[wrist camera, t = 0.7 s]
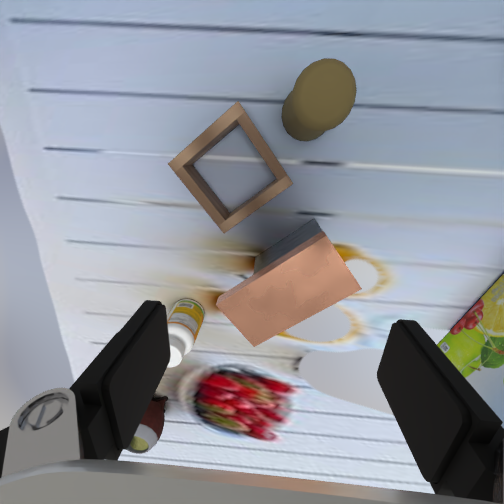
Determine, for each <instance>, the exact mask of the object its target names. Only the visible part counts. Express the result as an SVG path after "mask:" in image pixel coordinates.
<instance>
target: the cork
mask: <svg viewBox="0 0 504 504" xmlns="http://www.w3.org/2000/svg"><path fill="white" fill-rule="evenodd" d="M355 96H356V83H355V78H354V76H353V74H352V72H351V70H350V69H349V68H348V67H347V66H346V65H345V64H344V63H343V62H341V61H339V60H336V59H321V60H319V61H316V62H313V63H312V64H310V65H309V66H308V67H306V68H305V69H304V70H303V71H302V73H301V74H300V76H299V77H298V78H297V80H296V83H295V86H294V89H293V91H291V92H290V94H289V95H288V97H287V98H286V99H285V102H284V105H283V108H282V121H283V126H284V128H285V129H286V131H287V133H288V134H289V135H291V136H292V137H293V138H294V139H297V140H299V141H310V140H314V139H316V138H318V137H319V136H321V135H322V134H323V133H324V132H325V131H327V130H330V129H333V128H335V127H336V126H338V125H339V124H341V123H342V122H343V121H344V120H345V118H346V117H347V116H348V115H349V113H350V111H351V109H352V107H353V104H354V102H355Z"/></svg>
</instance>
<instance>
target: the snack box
mask: <svg viewBox="0 0 504 504" xmlns="http://www.w3.org/2000/svg"><path fill="white" fill-rule="evenodd" d="M437 346H438V347H439V348H440V349H441V351H442V352H443V353H444V354H445V355H446V356H447V358H448V359H449V360H450V361H451V362H452V363H453V365H454V366H455V367H456V368H457V369H458V370H459V372H460V373H461V374H462V375H463V376H464V377H465V379H466V380H467V381H468V382H469V383H470V384H471V386H472V387H473V388H474V389H475V390H476V391H477V393H478V394H479V395H480V396H481V397H482V398H483V400H484V401H485V402H486V403H487V404H488V405H489V407H490V408H491V409H492V410H493V411H494V412H495V413H496V415H497V416H498V417H499V418H500V419H501V420H502V422H503V423H502V425H501V426H502V427H503V428H504V274H503V275H502V276H501V277H500V278H499V279H498V280H497V281H496V282H495V283H494V285H493V286H492V287H491V288H490V289H489V290H488V291H487V292H486V293H485V294H484V295H483V296H482V297H481V299H480V300H479V301H478V302H477V303H476V304H475V305H474V306H473V307H472V308H471V309H470V310H469V311H468V312H467V313H466V314H465V315H464V317H463V318H462V319H461V320H460V321H459V322H458V323H457V324H456V325H455V326H454V327H453V328H452V329H451V330H450V332H449V333H448V334H447V335H446V336H445V337H444V338H443V339H442V340H441V341H440V342H439V343H438V344H437Z"/></svg>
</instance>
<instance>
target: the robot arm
mask: <svg viewBox="0 0 504 504" xmlns="http://www.w3.org/2000/svg"><path fill="white" fill-rule="evenodd" d="M170 357H171V352H170V343H169V334H168V324H167V315H166V307H165V305H162V303H161V302H160V301H150V300H146V301H145V302H144V303H143V304H142V305H141V306H140V308H139V309H138V310H137V311H136V312H135V314H134V315H133V316H132V317H131V318H130V320H129V321H128V322H127V323H126V324H125V326H124V327H123V328H122V329H121V330H120V331H119V332H118V333H116V334H115V336H114V337H113V338H112V339H111V340H110V341H109V343H108V344H107V345H106V346H105V347H104V348H103V350H102V351H101V352H100V353H99V354H98V356H97V357H96V358H95V359H94V360H93V361H92V363H91V364H90V365H89V366H88V367H87V369H86V370H85V371H84V372H83V373H82V374H81V376H80V377H79V378H78V379H77V380H76V381H75V383H74V384H73V385H72V386H71V387H70V389H66V388H56V389H51V390H48V391H45V392H43V393H41V394H39V395H37V396H35V397H33V398H32V399H31V400H29V401H28V402H26V403H25V404H24V405H23V406H22V407H21V408H20V409H19V410H18V411H17V412H16V414H15V415H14V417H13V418H12V421H11V423H10V426H9V427H7V428H5V429H3V430H1V431H0V504H504V428H503V427H502V426H501V425H502V423H503V422H502V420H501V419H500V418H499V417H498V416H497V415H496V413H495V412H494V411H493V410H492V409H491V408H490V407H489V405H488V404H487V403H486V402H485V401H484V400H483V398H482V397H481V396H480V395H479V394H478V393H477V391H476V390H475V389H474V388H473V387H472V386H471V384H470V383H469V382H468V381H467V380H466V379H465V377H464V376H463V375H462V374H461V373H460V372H459V370H458V369H457V368H456V367H455V366H454V365H453V363H452V362H451V361H450V360H449V359H448V358H447V356H446V355H445V354H444V353H443V352H442V351H441V349H440V348H439V347H438V346H437V345H436V344H435V342H434V341H433V340H432V339H431V338H430V337H429V335H428V334H427V333H426V332H425V331H424V330H423V328H422V327H421V326H420V325H419V324H418V323H417V322H416V321H414V320H398V321H397V322H396V323H393V324H392V327H391V330H390V333H389V336H388V339H387V343H386V346H385V349H384V352H383V355H382V359H381V362H380V365H379V368H378V371H377V378H378V382H379V384H380V386H381V388H382V390H383V392H384V394H385V397H386V399H387V401H388V403H389V405H390V408H391V410H392V412H393V414H394V416H395V418H396V420H397V422H398V425H399V427H400V429H401V431H402V433H403V435H404V437H405V440H406V442H407V444H408V446H409V448H410V450H411V452H412V455H413V457H414V459H415V461H416V463H417V465H418V467H419V469H420V472H421V474H422V476H423V477H424V479H425V480H426V481H427V482H430V484H431V486H432V488H433V490H434V492H435V494H430V493H422V492H413V491H404V490H396V489H387V488H378V487H370V486H361V485H352V484H344V483H335V482H325V481H316V480H307V479H298V478H289V477H280V476H270V475H261V474H252V473H243V472H233V471H223V470H214V469H204V468H194V467H184V466H175V465H165V464H154V463H142V462H130V461H117V460H118V458H119V456H120V454H121V452H122V450H123V449H127V448H128V447H129V445H130V443H131V441H132V439H133V437H134V435H135V433H136V431H137V428H138V426H139V424H140V422H141V420H142V418H143V416H144V414H145V412H146V410H147V408H148V406H149V404H150V401H151V399H152V397H153V395H154V393H155V391H156V389H157V387H158V385H159V383H160V381H161V379H162V376H163V374H164V372H165V370H166V368H167V366H168V364H169V361H170ZM104 459H106V460H104Z"/></svg>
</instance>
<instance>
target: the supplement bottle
mask: <svg viewBox="0 0 504 504" xmlns="http://www.w3.org/2000/svg"><path fill="white" fill-rule="evenodd" d="M203 319H204V310H203V308H202V306H201V305H200V304H199V303H197V302H196V301H194V300H190V299H183V300H180V301H178V302H177V303H176V304H175V305H174V306H173V308H172V309H171V311H170V313H169V314H168V316H167V324H168V334H169V343H170V352H171V357H170V361H169V364H168V366H167V367H175V366H177V365H178V364H180V362H181V361H182V358H183V356H184V355H186V354H187V353H188V352H190V350H191V349H192V347H193V345H194V343H195V340H196V337H197V335H198V332H199V330H200V327H201V325H202V322H203Z"/></svg>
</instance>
